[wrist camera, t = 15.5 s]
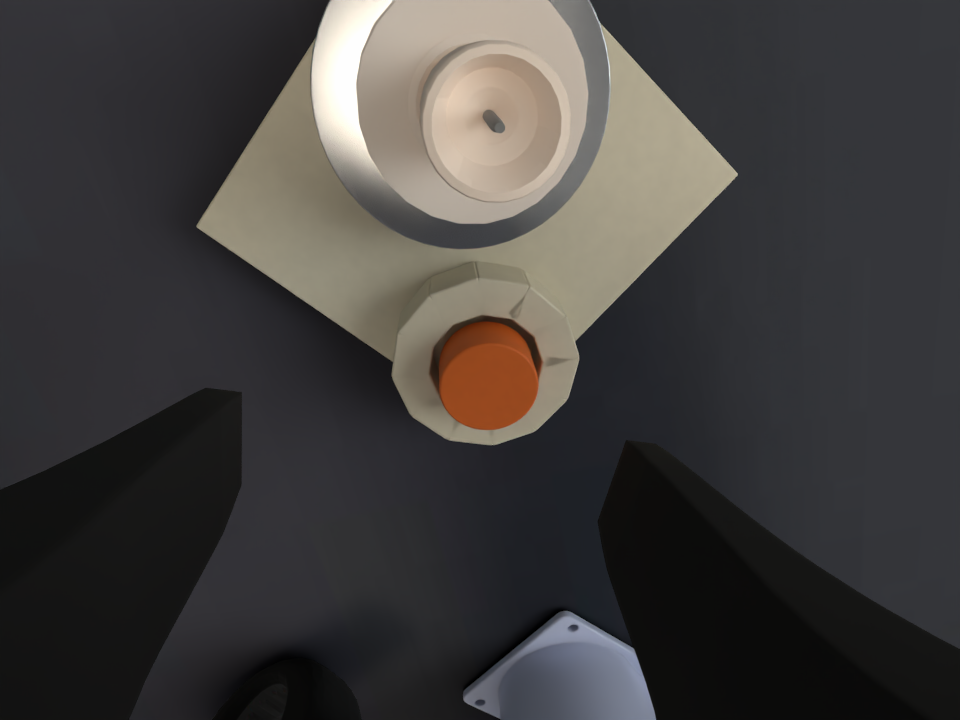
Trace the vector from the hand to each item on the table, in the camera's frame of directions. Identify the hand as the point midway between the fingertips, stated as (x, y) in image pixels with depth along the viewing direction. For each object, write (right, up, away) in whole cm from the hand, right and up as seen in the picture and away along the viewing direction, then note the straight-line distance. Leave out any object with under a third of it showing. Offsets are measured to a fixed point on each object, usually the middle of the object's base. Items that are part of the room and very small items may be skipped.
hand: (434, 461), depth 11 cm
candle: (0, +9, +4) cm, 9 cm away
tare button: (+1, +2, +8) cm, 8 cm away
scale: (0, +7, +8) cm, 11 cm away
